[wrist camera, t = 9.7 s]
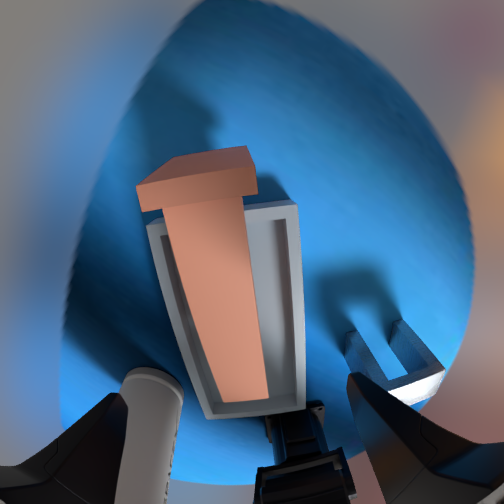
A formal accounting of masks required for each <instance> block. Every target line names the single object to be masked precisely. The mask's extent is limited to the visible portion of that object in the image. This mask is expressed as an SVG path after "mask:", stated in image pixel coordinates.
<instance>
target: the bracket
mask: <svg viewBox="0 0 504 504" xmlns="http://www.w3.org/2000/svg"><path fill="white" fill-rule="evenodd" d="M389 347H390V348H391V350H392V351H393V352H394V354H395V355H396V357H397V358H398V360H399V361H400V362H401V364H402V365H403V367H404V368H405V370H406V371H407V373H408V374H407V375H404V376H401V377H398V378H395V379H392V380H389V381H388V379H387V378H386V376H385V374H384V372H383V371H382V369H381V367H380V366H379V364H378V363H377V361H376V359H375V358H374V356H373V354H372V353H371V351H370V349H369V348H368V346H367V345H366V343H365V341H364V340H363V338H362V337H361V335H360V333H359V332H358V330H356V331H352V332H347V333H346V343H345V354H344V358H345V360H346V362H347V364H348V366H349V368H350V371H351V373H353V372H357V371H359V372H361V373H362V374H364V375H365V376H367V377H368V378H369V379H371V380H372V381H374V382H375V383H376V384H378V385H379V386H381V387H382V388H384V389H385V390H386V391H388V392H389V393H391V394H392V395H394V396H395V397H396V398H398V399H399V400H401V401H402V402H404V403H405V404H407V405H408V406H409V405H412V404H415V403H417V402H419V401H422V400H424V399H427V398H429V397H431V396H433V395H435V394H436V392H437V390H438V387H439V385H440V383H441V380H442V378H443V376H444V373H445V371H446V369H445V368H444V366H443V365H442V364H441V363H440V362H439V360H438V359H437V358H436V357H435V356H434V354H433V353H432V352H431V351H430V350H429V348H428V347H427V346H426V345H425V344H424V343H423V341H422V340H421V339H420V338H419V337H418V336H417V334H416V333H415V332H414V331H413V330H412V329H411V328H410V327H409V325H408V324H407V323H406V322H405V321H404V320H403V319H401V320H397V321H394V322H393V327H392V333H391V338H390V343H389Z"/></svg>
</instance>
